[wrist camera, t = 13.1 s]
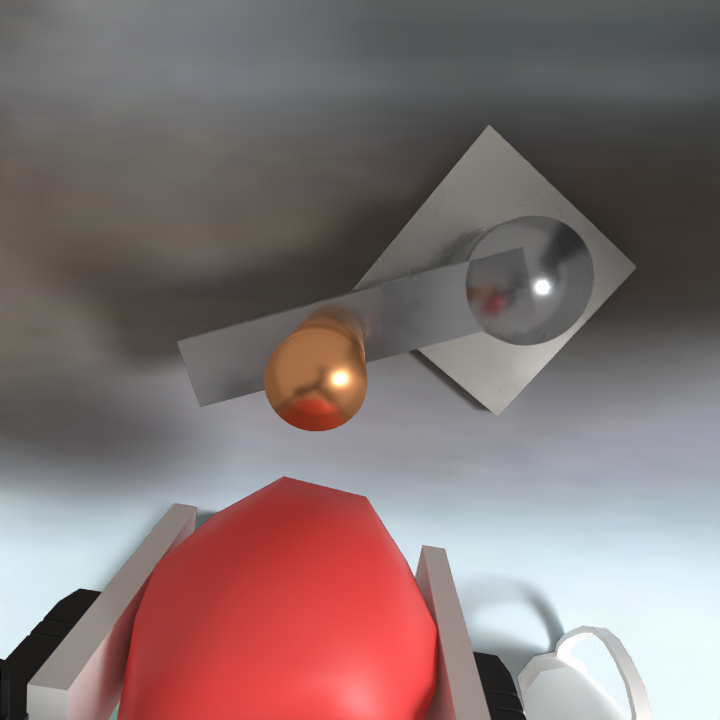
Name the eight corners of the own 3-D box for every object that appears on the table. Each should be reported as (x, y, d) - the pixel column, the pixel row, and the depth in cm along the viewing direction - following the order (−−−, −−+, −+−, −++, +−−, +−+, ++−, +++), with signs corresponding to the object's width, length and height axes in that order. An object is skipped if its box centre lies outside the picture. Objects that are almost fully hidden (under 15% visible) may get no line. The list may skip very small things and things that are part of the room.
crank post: (484, 129, 21) (506, 105, 18) (627, 267, 23) (670, 266, 20) (350, 291, 23) (349, 295, 20) (492, 411, 24) (513, 432, 21)
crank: (558, 206, 19) (757, 145, 10) (579, 321, 20) (776, 367, 11) (186, 310, 20) (32, 347, 10) (222, 416, 21) (112, 538, 11)
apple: (470, 536, 15) (579, 824, 7) (330, 690, 17) (296, 1072, 9) (277, 398, 14) (167, 557, 6) (147, 573, 16) (-75, 877, 8)
